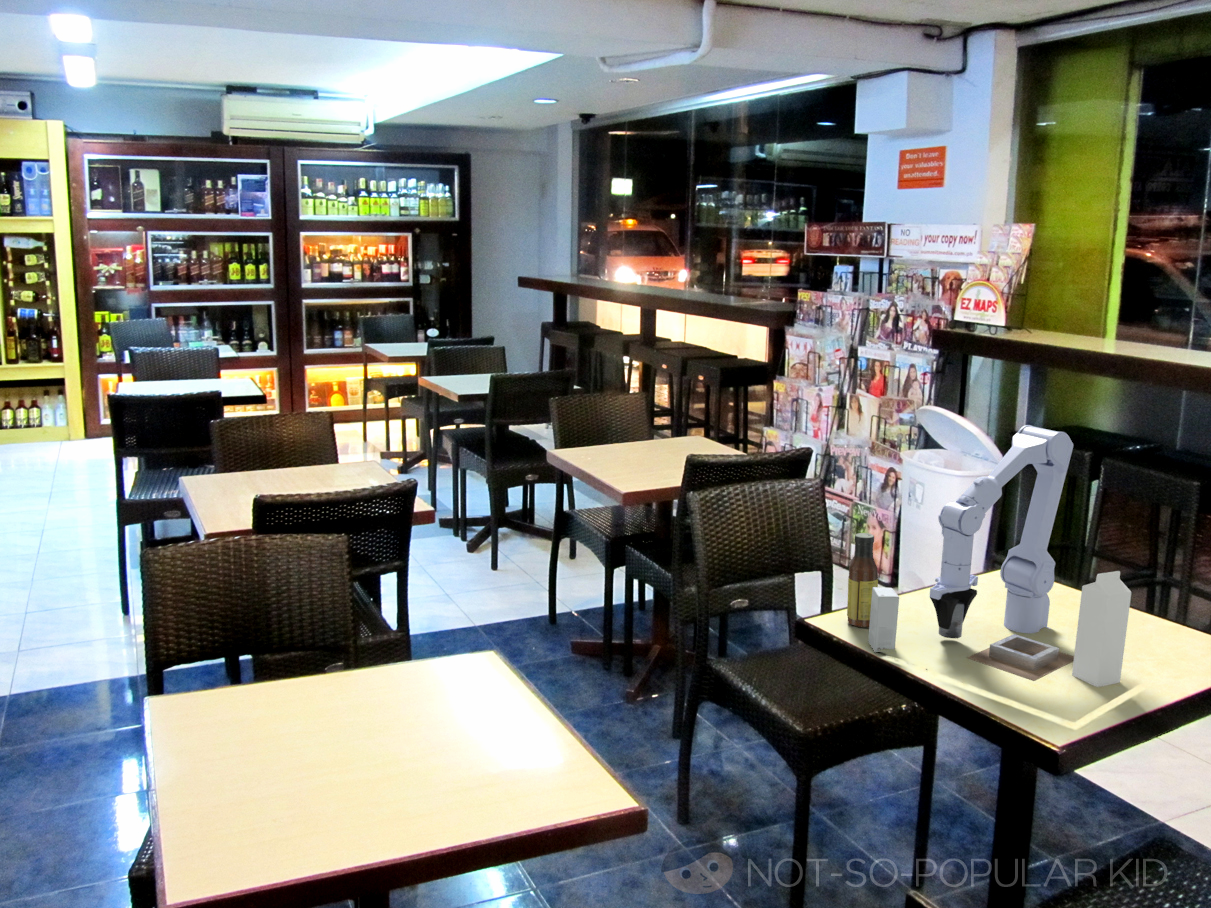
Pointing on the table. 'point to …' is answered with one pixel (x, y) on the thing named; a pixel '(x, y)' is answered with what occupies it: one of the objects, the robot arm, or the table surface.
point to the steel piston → (954, 623)
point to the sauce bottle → (861, 581)
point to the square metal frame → (1006, 653)
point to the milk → (1102, 630)
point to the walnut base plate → (1020, 671)
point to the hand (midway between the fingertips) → (950, 625)
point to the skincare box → (883, 618)
